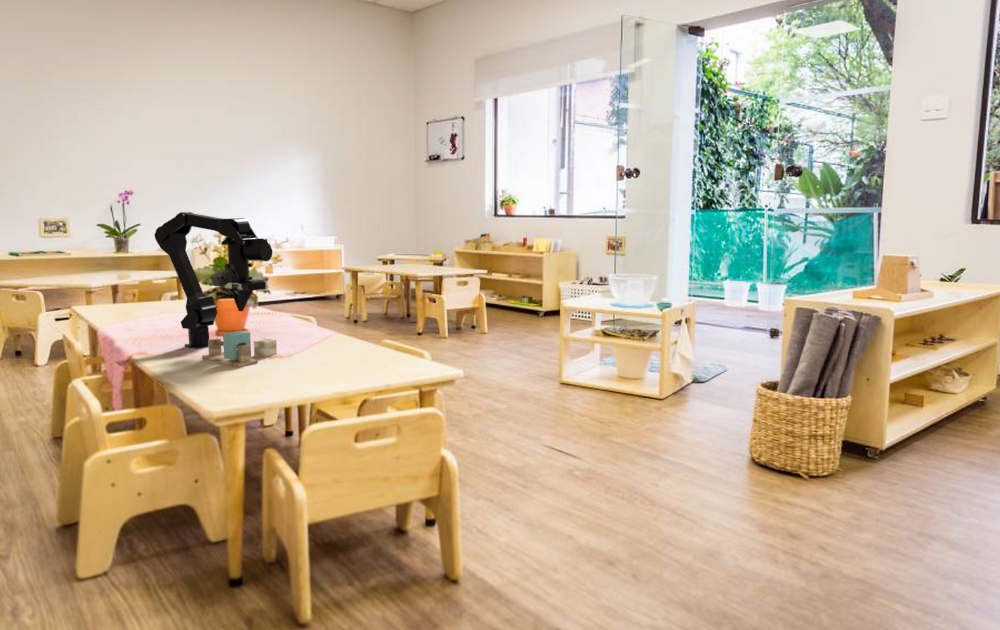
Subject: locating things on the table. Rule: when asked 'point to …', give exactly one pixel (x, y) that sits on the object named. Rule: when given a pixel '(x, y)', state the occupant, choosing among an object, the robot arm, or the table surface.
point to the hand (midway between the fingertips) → (240, 311)
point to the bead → (235, 343)
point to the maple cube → (265, 347)
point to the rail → (218, 356)
